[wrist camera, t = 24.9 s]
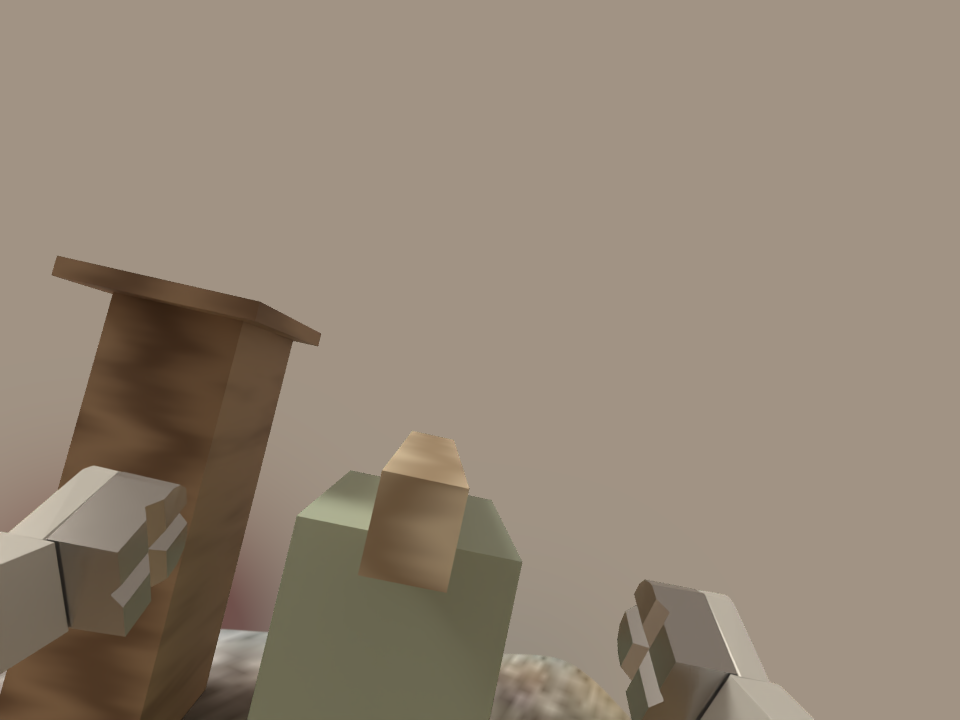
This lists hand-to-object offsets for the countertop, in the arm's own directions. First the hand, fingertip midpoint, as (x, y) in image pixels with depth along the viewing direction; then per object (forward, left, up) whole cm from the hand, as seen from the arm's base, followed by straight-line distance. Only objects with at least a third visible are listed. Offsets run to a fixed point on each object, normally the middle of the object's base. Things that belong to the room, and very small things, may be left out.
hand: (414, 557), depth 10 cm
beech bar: (0, +19, -3) cm, 19 cm away
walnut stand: (-15, +25, -20) cm, 35 cm away
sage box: (0, +21, -20) cm, 29 cm away
